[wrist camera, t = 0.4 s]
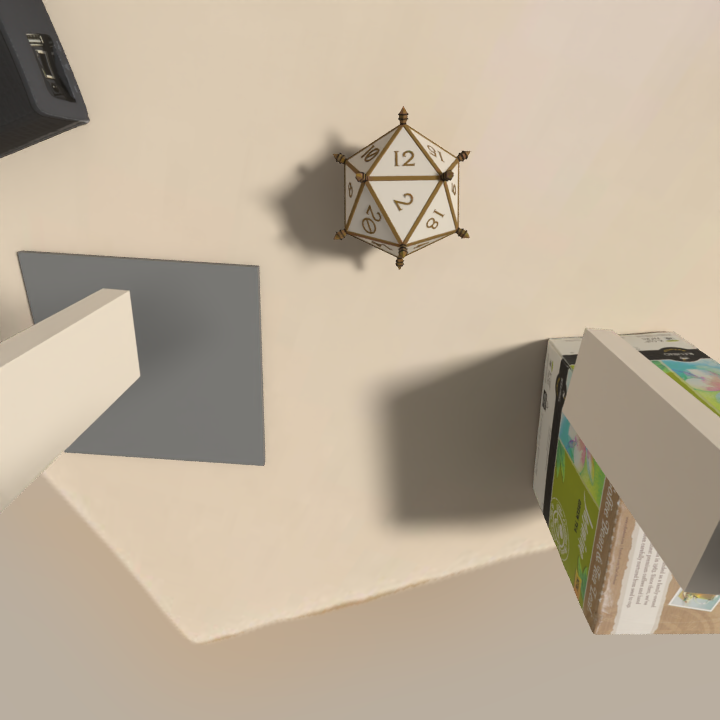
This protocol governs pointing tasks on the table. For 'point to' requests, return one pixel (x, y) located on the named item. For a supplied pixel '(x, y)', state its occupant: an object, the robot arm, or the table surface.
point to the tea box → (615, 504)
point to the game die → (401, 192)
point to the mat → (171, 354)
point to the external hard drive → (34, 79)
